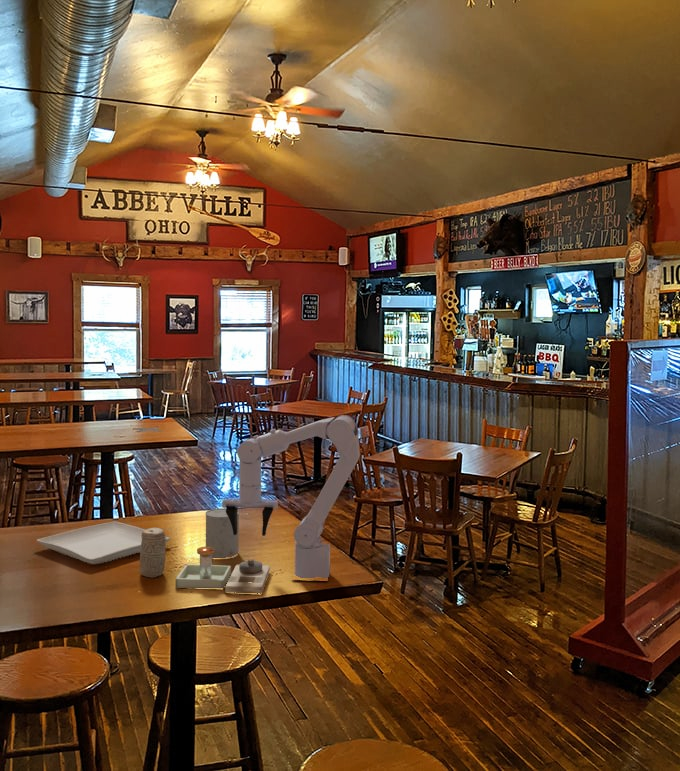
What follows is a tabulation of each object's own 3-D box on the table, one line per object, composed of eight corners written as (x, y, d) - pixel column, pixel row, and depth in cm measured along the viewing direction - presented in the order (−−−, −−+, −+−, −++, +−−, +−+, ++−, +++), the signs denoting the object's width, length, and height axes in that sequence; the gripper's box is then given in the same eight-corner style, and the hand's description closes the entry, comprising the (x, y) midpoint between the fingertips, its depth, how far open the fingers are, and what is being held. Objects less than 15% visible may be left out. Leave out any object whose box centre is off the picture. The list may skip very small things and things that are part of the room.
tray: (230, 574, 195) (231, 565, 195) (223, 590, 184) (223, 580, 184) (186, 573, 195) (186, 564, 195) (175, 588, 184) (175, 578, 184)
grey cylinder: (206, 561, 206) (207, 518, 204) (203, 550, 215) (204, 509, 214) (241, 558, 208) (241, 516, 207) (236, 548, 217) (236, 507, 216)
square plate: (91, 572, 195) (91, 558, 195) (35, 551, 212) (34, 538, 212) (171, 548, 217) (171, 535, 217) (114, 531, 233) (114, 519, 233)
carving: (150, 581, 189) (150, 535, 188) (134, 574, 194) (133, 529, 193) (171, 575, 194) (171, 530, 193) (154, 568, 199) (154, 524, 198)
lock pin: (215, 576, 192) (215, 546, 191) (212, 582, 187) (212, 552, 187) (198, 576, 192) (199, 546, 191) (195, 582, 187) (195, 551, 187)
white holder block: (269, 572, 197) (269, 555, 197) (261, 595, 181) (261, 576, 181) (236, 571, 197) (236, 554, 197) (225, 594, 181) (225, 575, 181)
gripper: (220, 486, 191) (219, 537, 193) (275, 488, 191) (275, 539, 192) (225, 480, 198) (224, 530, 200) (278, 482, 198) (278, 531, 199)
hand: (249, 534), depth 196 cm, fingers open, 7 cm apart
